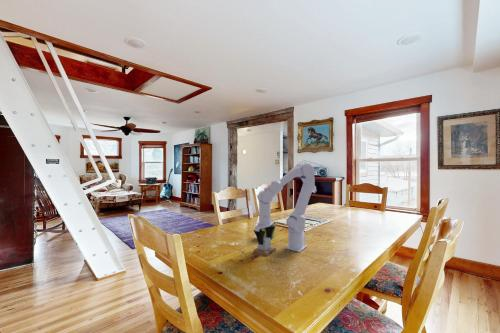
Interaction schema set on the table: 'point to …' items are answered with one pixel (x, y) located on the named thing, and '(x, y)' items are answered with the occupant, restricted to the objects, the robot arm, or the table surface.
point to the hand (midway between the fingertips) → (264, 242)
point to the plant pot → (273, 231)
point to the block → (265, 244)
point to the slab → (265, 251)
